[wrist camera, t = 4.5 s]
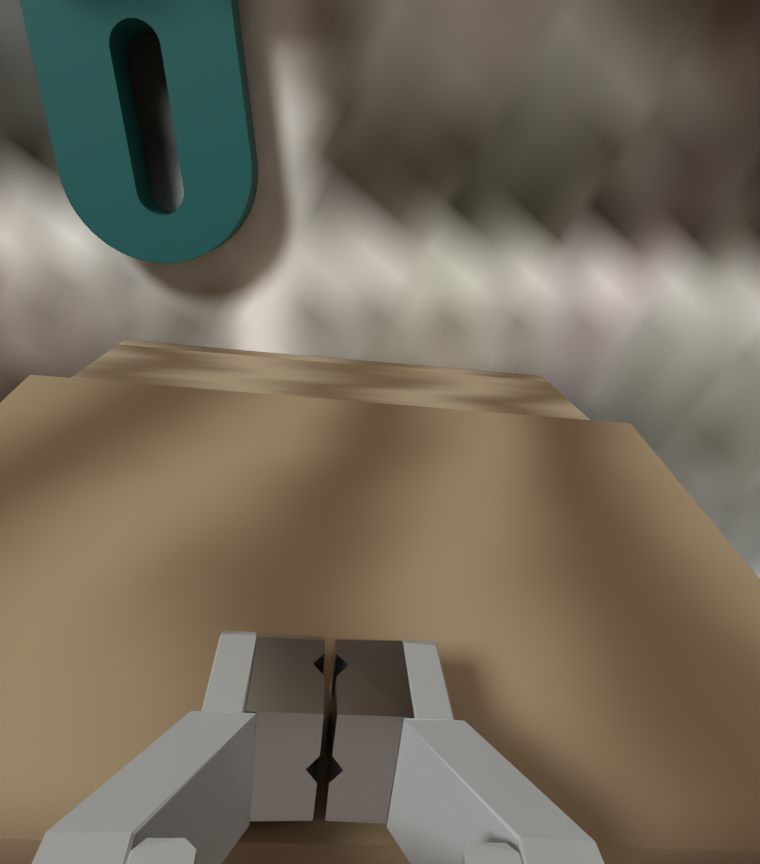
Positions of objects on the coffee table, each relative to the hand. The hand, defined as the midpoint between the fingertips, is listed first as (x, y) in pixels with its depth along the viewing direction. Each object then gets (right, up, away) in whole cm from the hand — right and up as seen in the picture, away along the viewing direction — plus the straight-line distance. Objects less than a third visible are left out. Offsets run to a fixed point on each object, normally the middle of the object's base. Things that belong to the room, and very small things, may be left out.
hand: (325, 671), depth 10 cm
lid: (0, +1, +5) cm, 5 cm away
